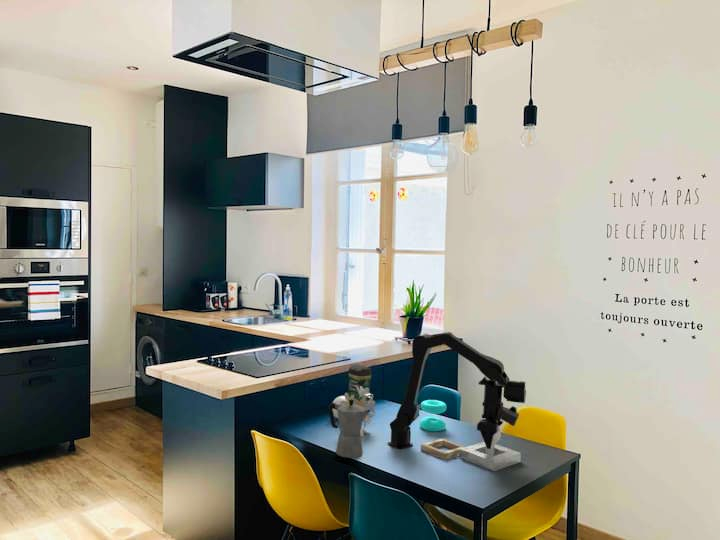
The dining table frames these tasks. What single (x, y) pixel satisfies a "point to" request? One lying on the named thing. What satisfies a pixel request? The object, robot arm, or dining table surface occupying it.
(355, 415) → the coffeepot
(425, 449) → the wooden picture frame
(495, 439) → the lightbulb
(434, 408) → the donuts
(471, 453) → the socket
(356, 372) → the coffee jar
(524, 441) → the dining table surface
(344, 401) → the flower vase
